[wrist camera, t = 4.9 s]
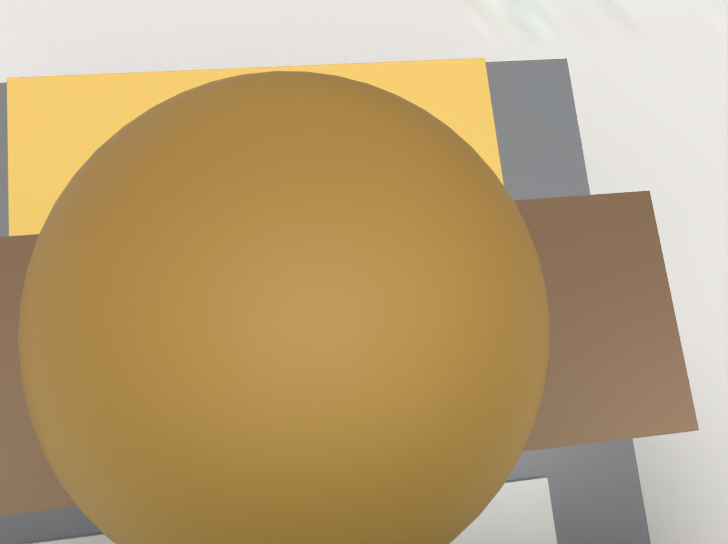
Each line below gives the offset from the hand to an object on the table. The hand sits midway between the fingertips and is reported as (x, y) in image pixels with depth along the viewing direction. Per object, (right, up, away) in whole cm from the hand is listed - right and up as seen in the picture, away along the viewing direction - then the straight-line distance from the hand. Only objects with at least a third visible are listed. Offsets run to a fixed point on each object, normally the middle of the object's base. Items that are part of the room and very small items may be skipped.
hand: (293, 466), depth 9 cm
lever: (-1, 0, +4) cm, 4 cm away
